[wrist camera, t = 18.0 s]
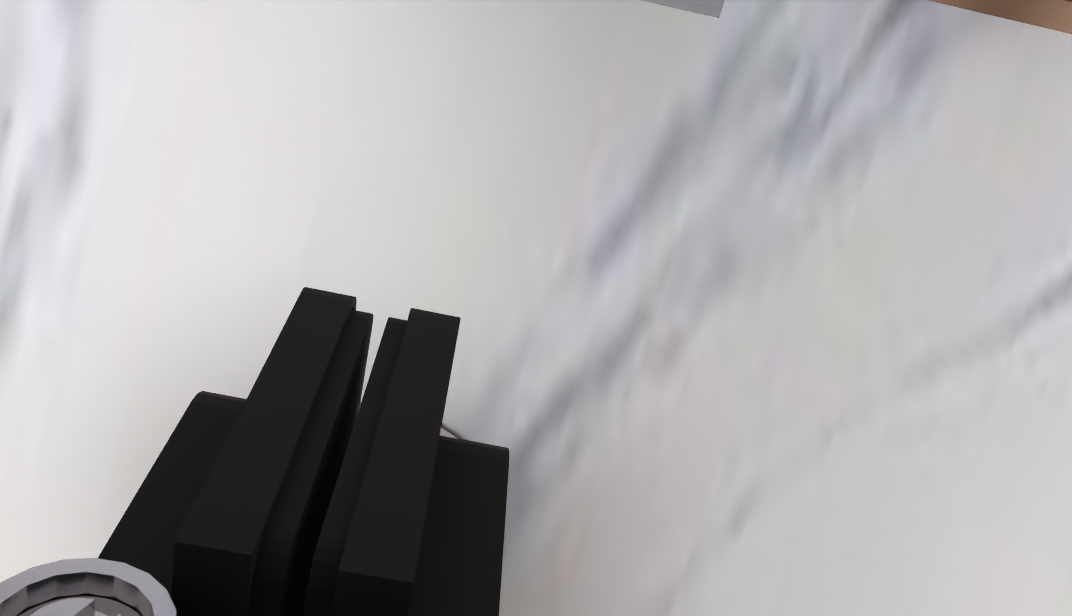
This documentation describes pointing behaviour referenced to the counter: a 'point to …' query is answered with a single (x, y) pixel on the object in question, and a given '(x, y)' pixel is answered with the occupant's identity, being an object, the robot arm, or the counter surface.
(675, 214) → the counter surface
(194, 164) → the counter surface
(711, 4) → the port
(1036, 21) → the wooden tray
